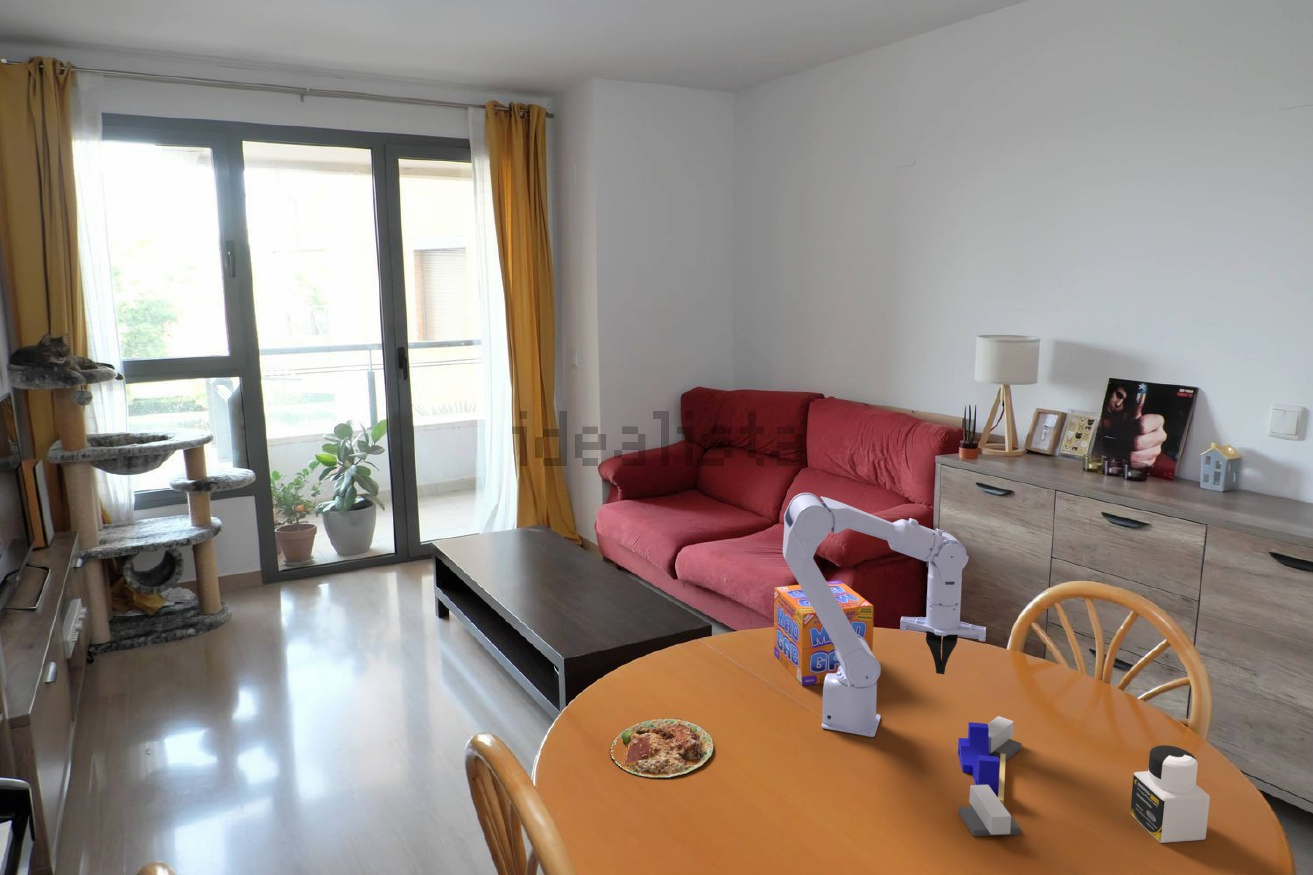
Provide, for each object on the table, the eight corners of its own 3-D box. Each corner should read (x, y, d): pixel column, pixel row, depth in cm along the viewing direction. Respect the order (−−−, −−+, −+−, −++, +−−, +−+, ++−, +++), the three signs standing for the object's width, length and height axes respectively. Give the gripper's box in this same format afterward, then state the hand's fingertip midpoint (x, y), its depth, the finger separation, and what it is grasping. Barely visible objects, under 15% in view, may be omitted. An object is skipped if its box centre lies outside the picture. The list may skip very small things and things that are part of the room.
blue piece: (957, 753, 149) (959, 721, 148) (985, 755, 149) (987, 723, 147) (967, 793, 138) (969, 759, 137) (997, 796, 137) (999, 761, 136)
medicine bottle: (1128, 814, 132) (1135, 741, 130) (1173, 810, 132) (1180, 738, 130) (1159, 844, 125) (1166, 767, 123) (1206, 840, 125) (1214, 764, 123)
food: (687, 791, 140) (687, 774, 140) (594, 769, 148) (593, 752, 147) (728, 736, 156) (728, 721, 156) (641, 718, 164) (641, 704, 163)
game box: (839, 646, 193) (840, 579, 190) (872, 677, 178) (874, 604, 175) (773, 654, 189) (773, 586, 187) (801, 686, 175) (802, 613, 172)
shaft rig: (955, 833, 128) (957, 809, 127) (968, 730, 156) (969, 711, 156) (1020, 847, 125) (1021, 823, 124) (1021, 739, 153) (1022, 719, 152)
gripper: (898, 603, 155) (896, 674, 157) (986, 613, 149) (982, 687, 151) (903, 589, 161) (901, 658, 163) (987, 599, 155) (984, 670, 158)
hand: (940, 671), depth 158 cm, fingers closed
